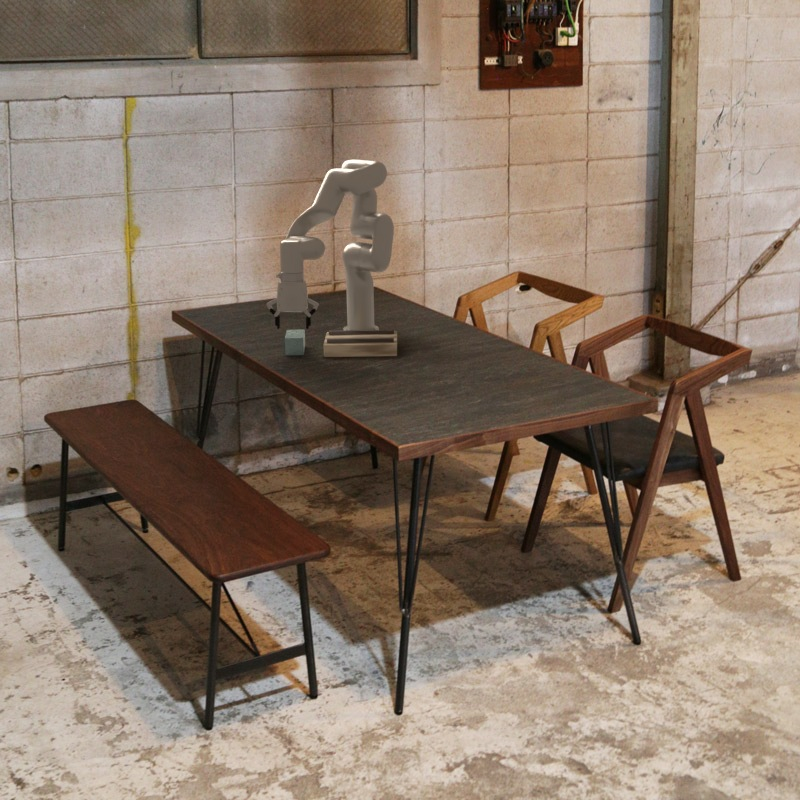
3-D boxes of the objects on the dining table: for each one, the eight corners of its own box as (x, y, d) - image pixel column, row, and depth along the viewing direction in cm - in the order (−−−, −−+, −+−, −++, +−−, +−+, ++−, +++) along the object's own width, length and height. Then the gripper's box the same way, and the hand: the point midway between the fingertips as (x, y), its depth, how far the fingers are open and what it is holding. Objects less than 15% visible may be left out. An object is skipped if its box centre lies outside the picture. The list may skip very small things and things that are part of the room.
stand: (327, 343, 441) (326, 328, 439) (397, 342, 440) (397, 327, 439) (323, 357, 423) (323, 341, 422) (396, 355, 423) (396, 340, 422)
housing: (287, 346, 438) (286, 329, 436) (305, 346, 438) (304, 329, 436) (285, 355, 426) (284, 338, 425) (303, 355, 426) (303, 337, 425)
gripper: (264, 279, 421) (265, 330, 426) (317, 279, 421) (318, 330, 426) (267, 275, 428) (268, 325, 433) (319, 275, 428) (319, 325, 433)
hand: (293, 328), depth 429 cm, fingers open, 9 cm apart
